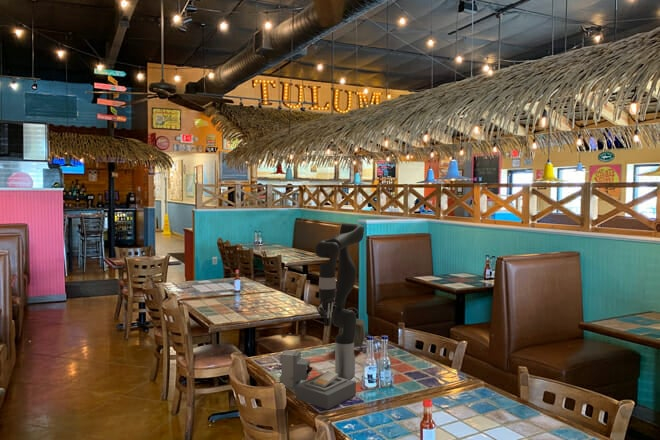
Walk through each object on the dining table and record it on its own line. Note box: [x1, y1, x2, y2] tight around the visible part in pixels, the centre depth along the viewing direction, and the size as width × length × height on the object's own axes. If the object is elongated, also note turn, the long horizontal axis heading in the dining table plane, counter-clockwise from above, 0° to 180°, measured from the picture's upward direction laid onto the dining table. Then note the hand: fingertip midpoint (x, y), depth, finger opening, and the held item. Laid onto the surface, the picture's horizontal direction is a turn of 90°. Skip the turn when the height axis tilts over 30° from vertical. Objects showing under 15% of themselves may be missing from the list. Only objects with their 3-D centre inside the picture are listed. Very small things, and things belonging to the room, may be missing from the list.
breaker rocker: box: [314, 370, 338, 387], centre depth 222 cm, size 10×6×1 cm, turn 142°
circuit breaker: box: [279, 349, 313, 389], centre depth 236 cm, size 8×14×15 cm, turn 78°
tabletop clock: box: [338, 307, 366, 351], centre depth 290 cm, size 14×9×25 cm, turn 79°
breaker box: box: [295, 372, 357, 410], centre depth 222 cm, size 20×18×7 cm
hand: (327, 325), depth 223 cm, fingers closed
